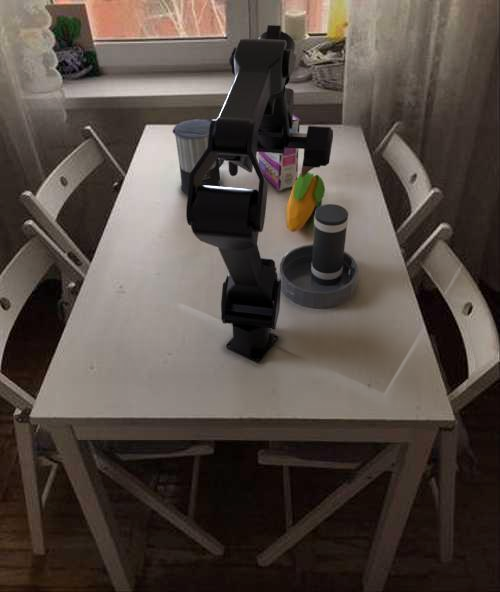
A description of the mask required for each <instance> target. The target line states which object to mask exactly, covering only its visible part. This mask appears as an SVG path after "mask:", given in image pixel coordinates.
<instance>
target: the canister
mask: <svg viewBox="0 0 500 592" xmlns="http://www.w3.org/2000/svg"><path fill="white" fill-rule="evenodd" d="M314 213H315V216H314V223H313V239H312V245H313V255H312V267H311V270H312V272H311V277H312V279H313V280H314V281H315V282H316V283H318V284H320V285H324V286H330V285H335V284H337V283H338V282H339V281H340V280H341V277H342V270H343V258H344V251H345V249H346V239H347V238H346V237H347V229H348V228H347V227H348V221H349V212H348V210H347V209H346V208H345V207H343V206H342V205H339V204H335V203H334V204H333V203H327V204H323V205H322V204H321V206H320V207H318V208H317V209H316V208H315V211H314Z"/></svg>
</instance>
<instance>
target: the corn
mask: <svg viewBox="0 0 500 592" xmlns="http://www.w3.org/2000/svg"><path fill="white" fill-rule="evenodd" d="M314 174H315V173H313V172H308V173H307V174H306V175H305V176H304V177H302V175H301V173H299V174H298V176H297V179H296V180H295V183H294V185H293V188H291V190H290V195H289V197H288V201H287V204H286V207H285V214H286V216H285V217H286V228H287V229H288V230H289V231H290V232H292V233H295V232H297V231H299V230H301V229H302V228H303V227H304V225H305V224H306V223H307V221H308V220H309V219H310V217H311V216H312V214H313V216H312V218H311V220H310V223H309V225H308V227H307V229H306V233H309V232H310V230H311V229H312V227H313V226H314V216H315V212H314V210H316V209H317V208H318V207H320V206H322V202H323V198H324V196H325V191H326V187H325V183H324V181H323V179H322V177H320V175H318V174H316V175H314ZM313 212H314V213H313Z"/></svg>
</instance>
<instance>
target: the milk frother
mask: <svg viewBox="0 0 500 592" xmlns="http://www.w3.org/2000/svg"><path fill="white" fill-rule="evenodd" d="M211 121H212V120H208V119H204V118H193V119H192V118H191V119H187V120H183V121H180V122H179V123H177V124H176V125H175V126H174V127H173V129H172V133H173V135H174V137H175V143H176V150H177V157H178V163H179V164H178V165H179V174H180V184H181V185H180V191H181V192H182V193H183V194H184V195H185V196H187V197H188V188H189V177H190V173H191V171H192V170H193V168H194V167H195V165H196V164H197V162H198V161H199V159H200V158H201V156H202V155H203V153H204V152H205V150H206V149H207V147H208V137H209V129H210V124H211ZM224 162H225V160H224V159H223V158H217V159H216V161H215V162H214V164H213V165H212V167H211V168H210V170H209V171H208V173H207V174H206V175H205V177H204V178H203V180H202V185H204V186H217V187H222V186H221V182H220V181H221V172H220V171H221V170H220V168H221V167H222V165H223V164H224ZM238 171H239V166H238V165H236V164H234V163H232V162H230V161H228V172H229V175H230V176H231V177H236V176H237V175H238Z"/></svg>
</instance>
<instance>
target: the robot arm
mask: <svg viewBox="0 0 500 592" xmlns="http://www.w3.org/2000/svg"><path fill="white" fill-rule="evenodd" d="M295 49H296V42H295V41H294V39H293V38H292V37H291V35H289V33H286V32H284V31H282V25H279V24H278V25H276V24H275V25H273V24H272V25H271V24H268V25H267V28H266V31H264V32H263V33H262V34H261V35H259V37H258V38H243V37H242V38H240V39H239V40H238V42H237V45H236V46H235V47H233V50H232V51H231V55H230V56H229V59H228V64H229V67H230V68H231V74H232V75H233V76H234V81H233V83H232V85H231V87H230V89H229V92H228V94H227V97H226V99H225V101H224V103H223V106H222V108H221V111H220V113H219V115H218V117H217V118H216V119H215V118H214V119H213V118H212V119H211V120H210V121H211V124H210V129H209V137H208V147H207V149H206V150H205V152H204V153H203V155H202V156H201V158H200V159H199V161H198V162H197V164H196V165H195V167H194V168H193V170H192V171H191V173H190V177H189V188H188V196H187V199H186V210H185V211H186V212H185V213H186V214H185V215H186V222H187V225H188V226H189V227H190V229H191V232H192V234H193V235H194V236H195V237H196V238H197V239H198V240H199V241H200V242H202V243H205V244H208V245H210V246H212V247H216V248H217V250H218V251H219V253H220V256H221V258H222V260H223V263H224V265H225V267H226V269H227V271H228V274H227V276H226V278H225V281H224V282H223V283H222V289H221V301H220V313H221V314H220V315H221V318H220V319H221V322H222V324H226V325H227V324H230V325H232V338H231V339H230V340H229V341H228V342H227V343H226V344H225V348H226V349H227V350H229V351H231V352H233V353H236V354H238V355H239V356H242V357H244V358H246V359H248V360H250V361H253V362H254V363H260V362H261V361H262V360H263V359H264V357H265V356H266V355H267V354H268V353H269V351H270V350H271V349H272V348H273V347H274V346H275V344H276V343H277V341H278V340H279V335H277V334H274V333H272V330H276V328H277V323H278V318H279V315H280V309H281V296H282V295H281V293H282V290H281V279H280V278H278V277H279V276H278V272H277V267H276V261H275V260H274V259H272V258H264V257H262V256H261V254H260V253H261V252H260V250H259V246H258V238H259V233H262V232H263V231H264V226H265V219H266V209H267V202H268V201H267V200H268V191H269V182H268V179H267V178H266V177H265V176H264V174H263V171H262V169H261V167H260V165H259V159H258V158H257V153H259V152H268V153H282V154H284V153H285V148H299V150H303V159H302V164H301V165H302V166H301V171H300V174H301V175H302V177H304V176H305V175H306V174H307V173H310V171H311V170H313V169H314V168H316V169H317V168H320V167H326V166H327V165H329V164H330V160H331V155H332V154H331V153H332V148H333V147H332V146H333V141H334V140H333V139H334V130H333V128H332V127H331V126H325V125H311V124H309V125H308V126H307V131H306V133H302V132H299V133H290V129H292V127H293V115H294V110H295V109H294V108H295V103H294V102H295V91H294V89H292V88H290V87H289V88H288V87H286V86H287V85H288V84H289V82H290V80H291V76H292V75H293V73H294V71H295V67H296V61H297V55H296V53H295ZM217 158H223V159H224V160H225V161H226V162H229V161H230V162H232V163H234V164H236V165H238V167H239V168H242V169H243V170H244V171H247V172H248V173H253V169H254V171H255V174H256V176H257V178H258V189H254V188H241V187H227V186H220V187H217V186H204V185H202V180H203V178H204V177H205V175H206V174H207V173H208V171H209V170H210V168H211V167H212V165H213V164H214V162H215V161H216V159H217ZM225 161H224V162H225Z"/></svg>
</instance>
